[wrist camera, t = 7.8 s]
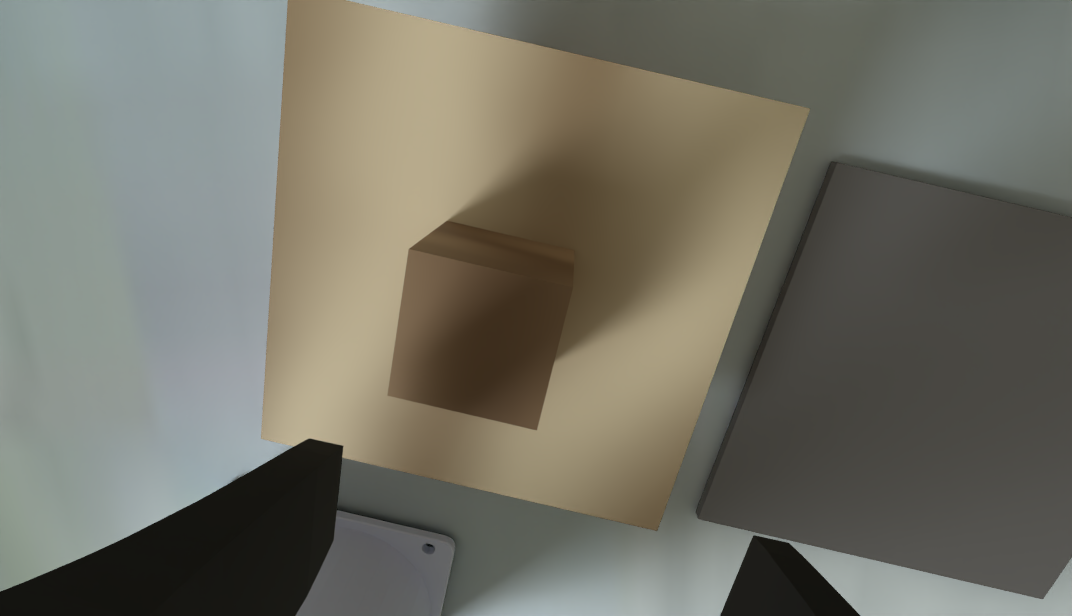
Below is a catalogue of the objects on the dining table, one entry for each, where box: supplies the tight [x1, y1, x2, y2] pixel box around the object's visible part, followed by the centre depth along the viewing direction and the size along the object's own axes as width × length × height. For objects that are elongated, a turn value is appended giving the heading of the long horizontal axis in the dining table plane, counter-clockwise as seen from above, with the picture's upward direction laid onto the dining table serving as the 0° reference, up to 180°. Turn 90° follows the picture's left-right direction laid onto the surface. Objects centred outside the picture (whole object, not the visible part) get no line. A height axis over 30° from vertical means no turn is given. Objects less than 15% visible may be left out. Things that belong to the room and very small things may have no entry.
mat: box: [696, 162, 1072, 599], centre depth 18 cm, size 13×13×1 cm
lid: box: [261, 0, 810, 531], centre depth 12 cm, size 11×11×4 cm
